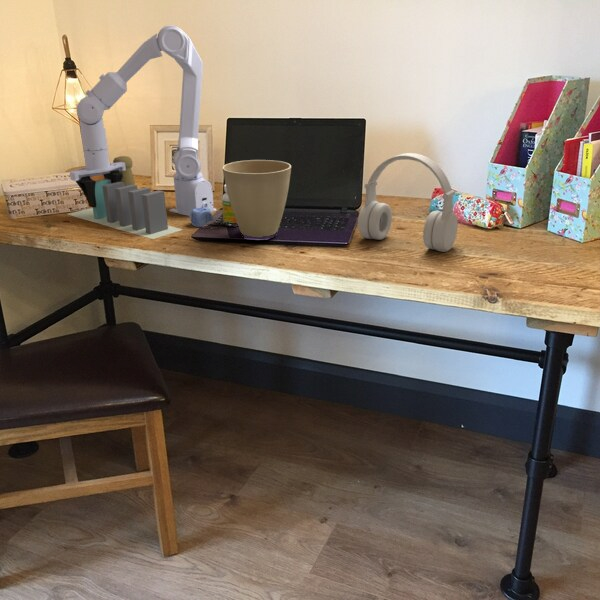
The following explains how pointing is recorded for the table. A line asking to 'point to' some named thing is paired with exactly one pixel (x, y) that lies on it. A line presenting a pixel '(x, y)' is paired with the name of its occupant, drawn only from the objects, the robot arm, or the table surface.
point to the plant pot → (257, 194)
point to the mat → (89, 216)
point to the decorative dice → (200, 216)
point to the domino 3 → (124, 204)
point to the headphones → (437, 225)
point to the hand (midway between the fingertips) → (103, 204)
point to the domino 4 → (137, 207)
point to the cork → (127, 173)
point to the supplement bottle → (227, 208)
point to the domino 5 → (154, 212)
